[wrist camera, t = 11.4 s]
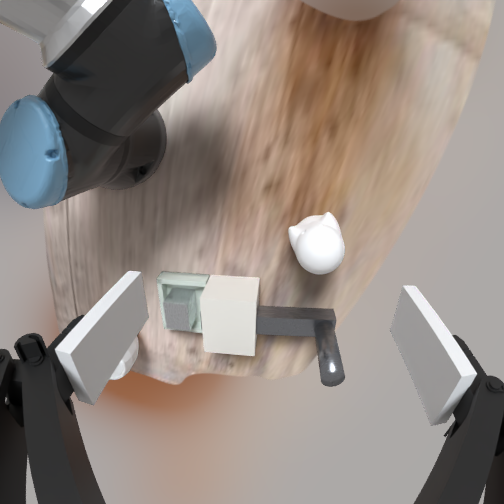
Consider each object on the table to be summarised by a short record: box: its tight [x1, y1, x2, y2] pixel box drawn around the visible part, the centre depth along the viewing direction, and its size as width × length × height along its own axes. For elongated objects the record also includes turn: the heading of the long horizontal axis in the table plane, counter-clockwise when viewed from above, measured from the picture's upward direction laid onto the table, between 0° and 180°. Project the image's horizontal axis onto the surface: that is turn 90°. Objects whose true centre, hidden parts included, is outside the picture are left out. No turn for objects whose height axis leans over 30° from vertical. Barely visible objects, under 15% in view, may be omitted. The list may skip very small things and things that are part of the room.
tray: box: [157, 271, 210, 333], centre depth 49 cm, size 8×10×3 cm
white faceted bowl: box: [110, 336, 139, 380], centre depth 51 cm, size 12×12×10 cm
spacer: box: [163, 288, 197, 331], centre depth 48 cm, size 5×5×4 cm
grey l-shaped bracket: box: [200, 306, 345, 387], centre depth 40 cm, size 20×3×14 cm, turn 89°
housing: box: [200, 275, 260, 356], centre depth 47 cm, size 8×10×8 cm
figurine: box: [288, 212, 345, 274], centre depth 39 cm, size 7×8×12 cm
